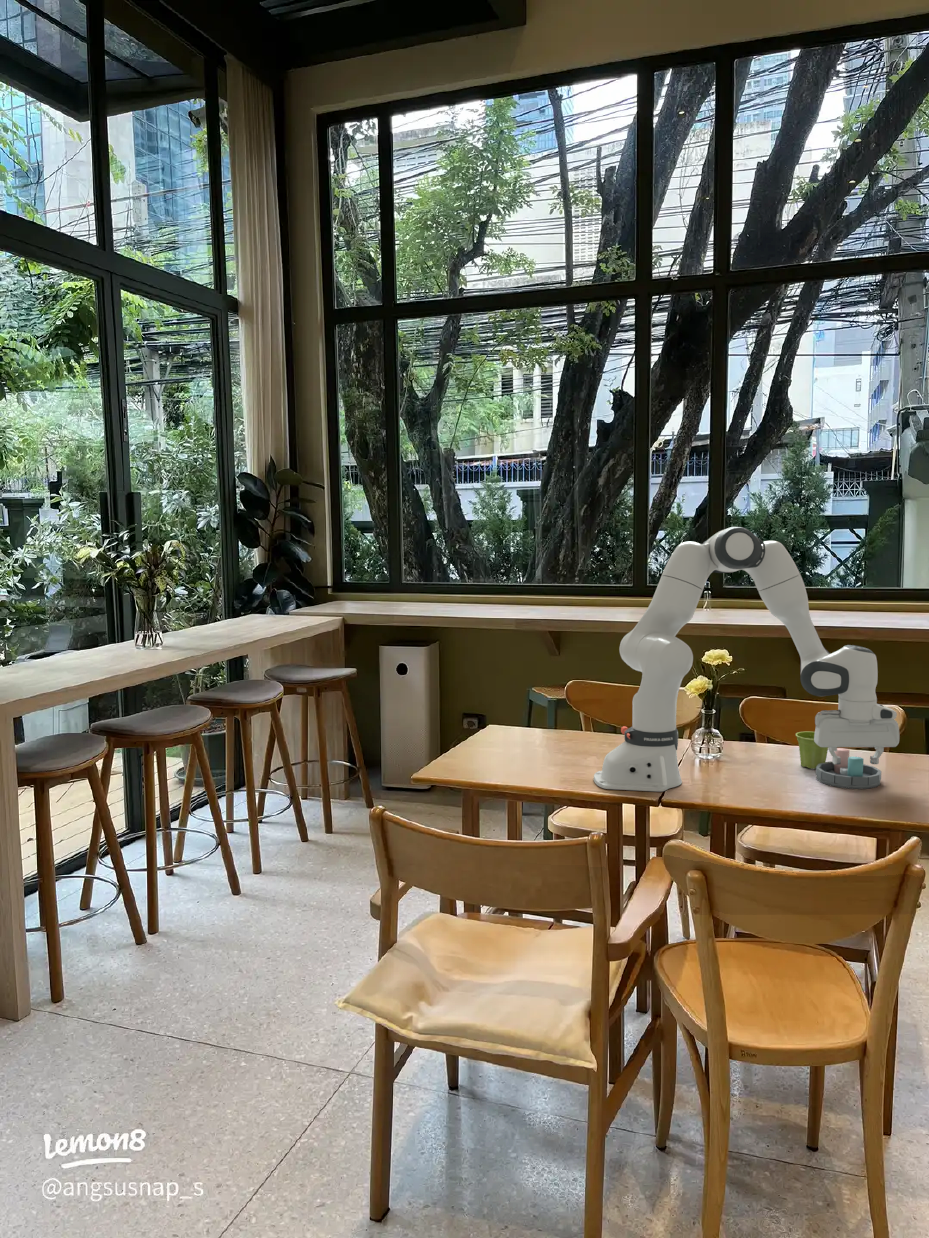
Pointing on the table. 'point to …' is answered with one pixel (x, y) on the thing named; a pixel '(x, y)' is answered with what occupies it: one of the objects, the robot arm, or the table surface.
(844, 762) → the pink cylinder
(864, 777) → the groove tray
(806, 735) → the plant pot
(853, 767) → the teal block
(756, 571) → the robot arm
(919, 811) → the table surface
